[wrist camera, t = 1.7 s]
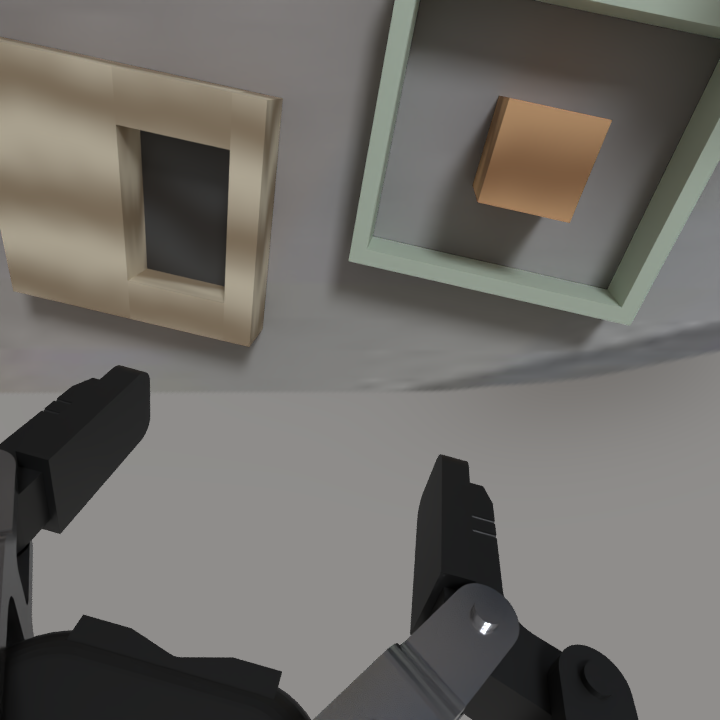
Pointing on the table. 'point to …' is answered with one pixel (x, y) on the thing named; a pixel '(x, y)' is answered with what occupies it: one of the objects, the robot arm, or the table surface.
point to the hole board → (136, 190)
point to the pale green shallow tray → (617, 303)
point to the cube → (538, 158)
